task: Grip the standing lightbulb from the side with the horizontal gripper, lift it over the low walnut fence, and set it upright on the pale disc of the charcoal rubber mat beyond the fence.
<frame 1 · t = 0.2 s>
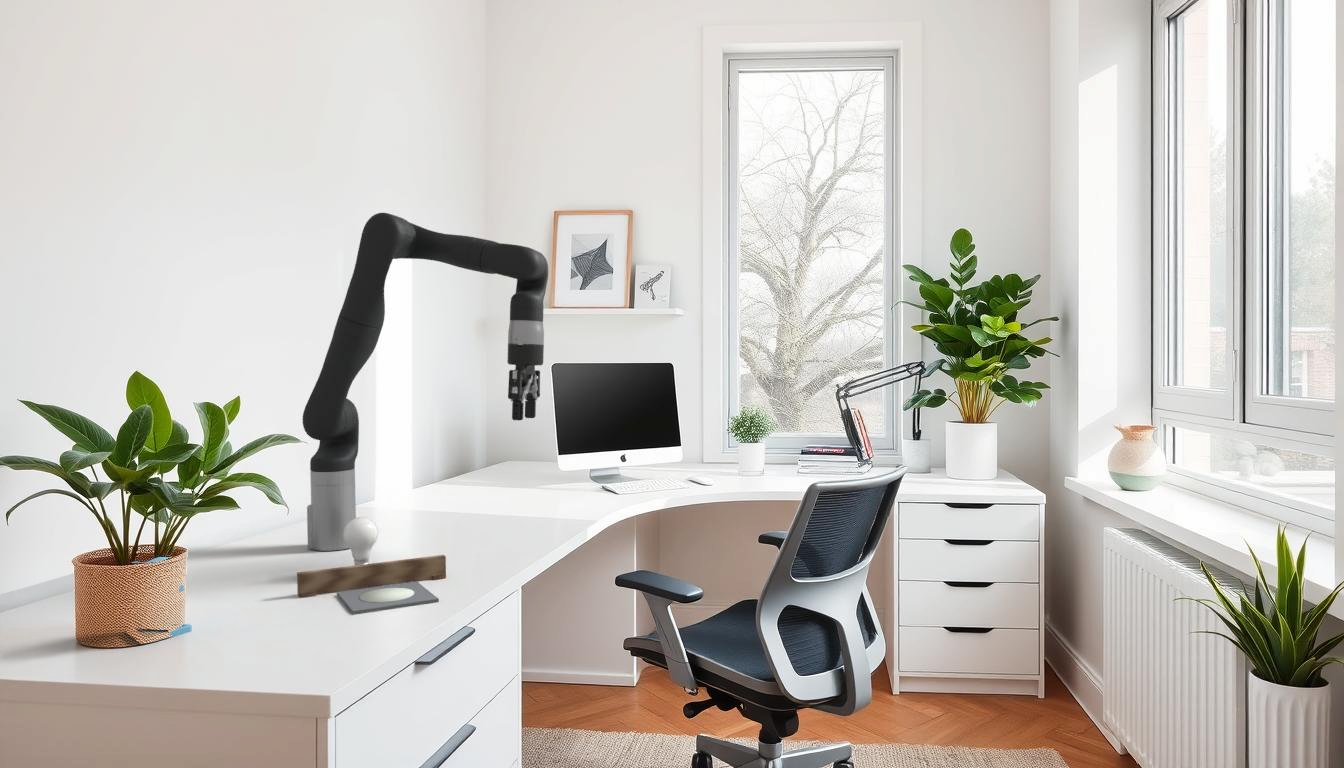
hand: (523, 419, 189), 29 cm above the table, tool pointing down, fingers open, 8 cm apart
lightbulb: (361, 574, 172), on the table
walnut fence: (374, 585, 163), on the table
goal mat: (387, 598, 154), on the table
chair: (151, 635, 135), on the table
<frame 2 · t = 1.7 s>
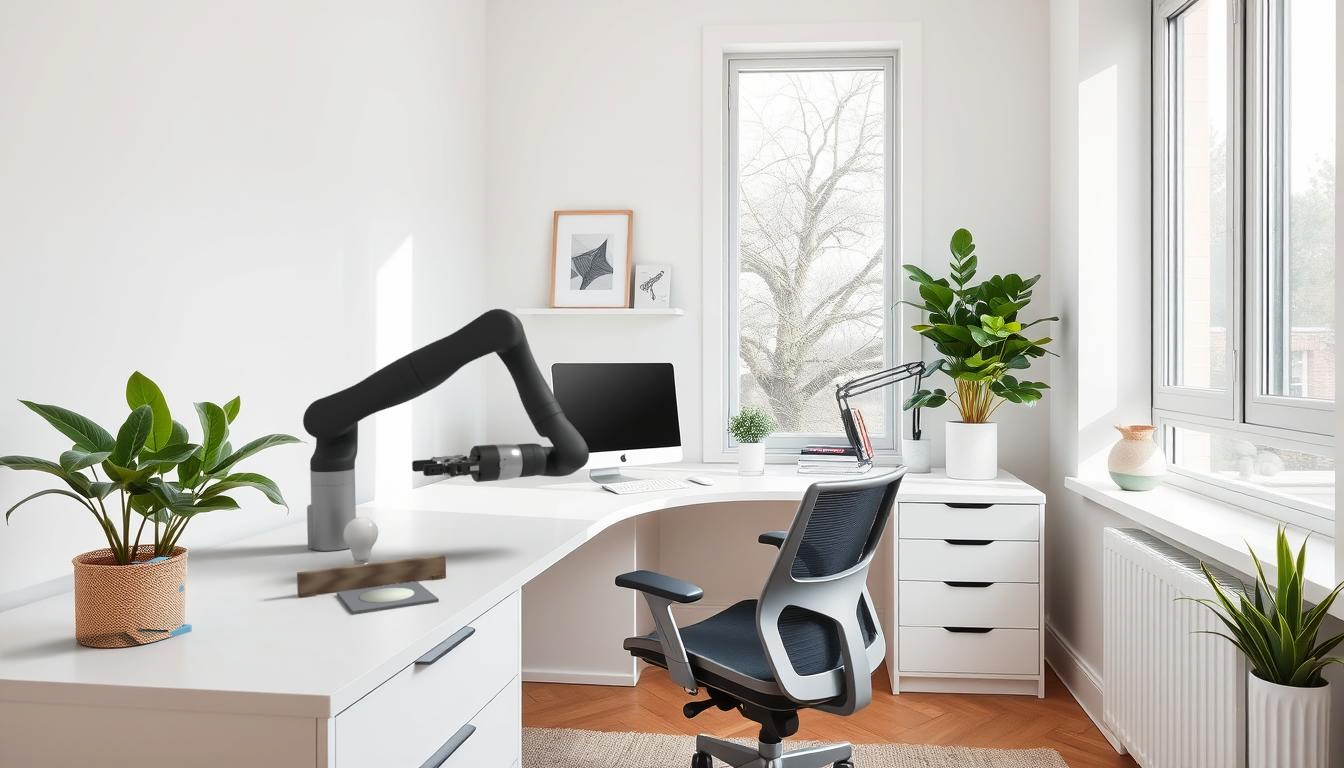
hand: (418, 468, 177), 20 cm above the table, tool horizontal, fingers open, 8 cm apart
nothing on the table moved.
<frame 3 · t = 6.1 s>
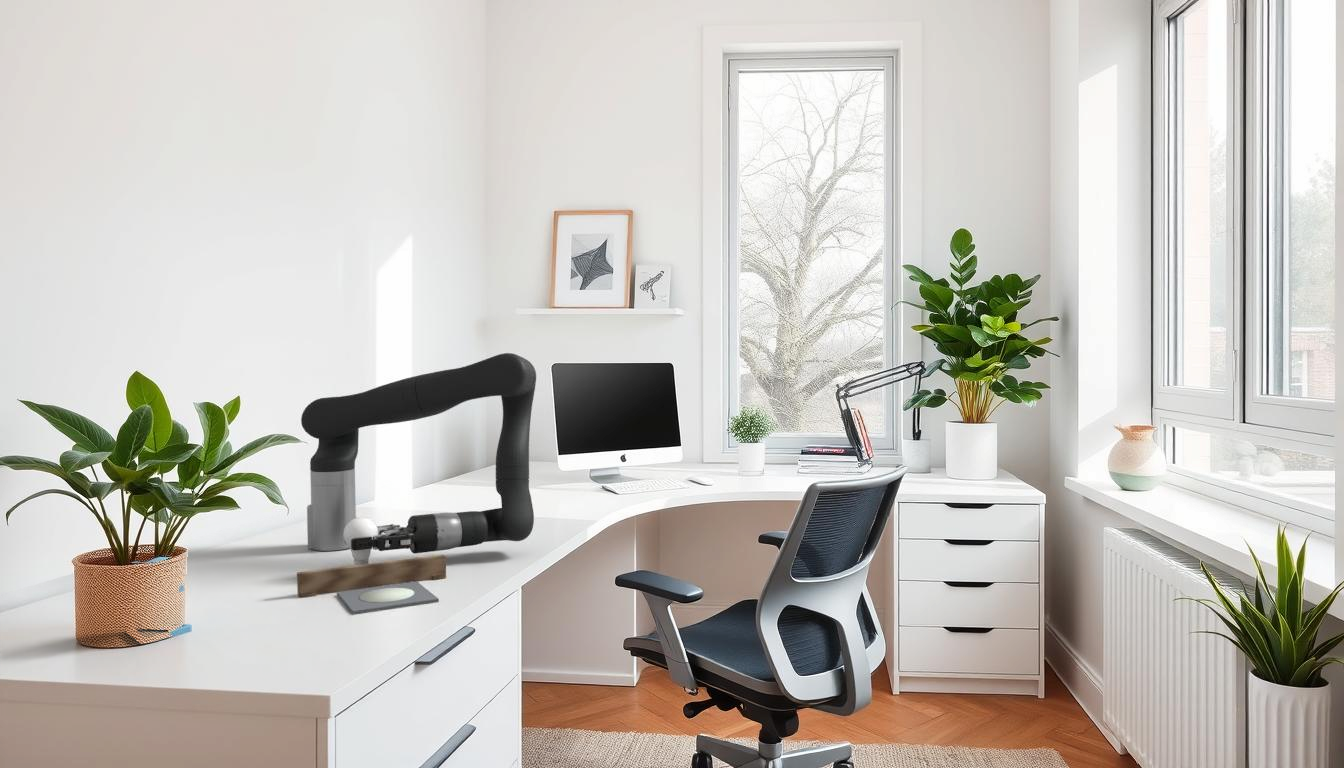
hand: (348, 541, 171), 7 cm above the table, tool horizontal, fingers closed on lightbulb, 6 cm apart
lightbulb: (361, 574, 172), on the table, touching gripper
everything else where it was.
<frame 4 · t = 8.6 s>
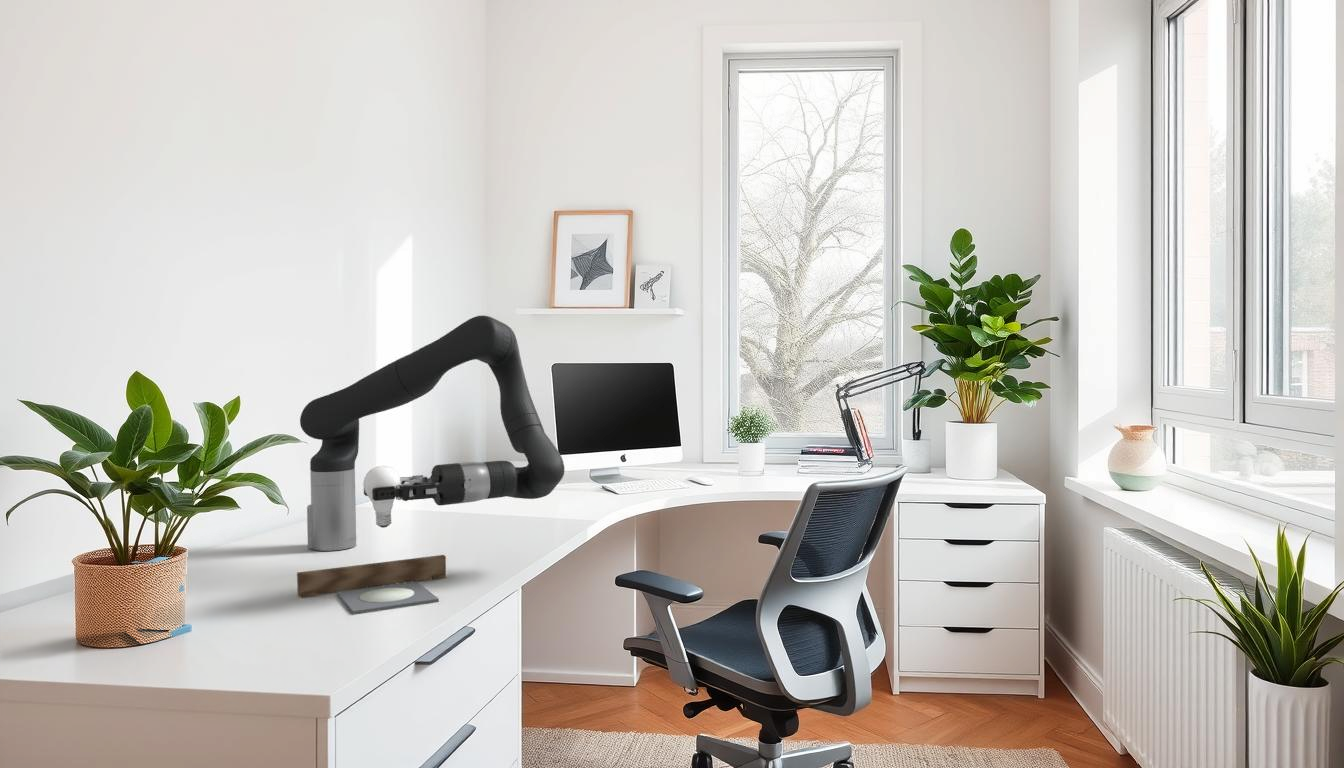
hand: (368, 492, 157), 18 cm above the table, tool horizontal, fingers closed on lightbulb, 6 cm apart
lightbulb: (383, 528, 159), point 11 cm above the table, touching gripper
everything else where it was.
when the fingers open (8 cm above the table, at t = 11.4 s): lightbulb stays where it is, resting on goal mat.
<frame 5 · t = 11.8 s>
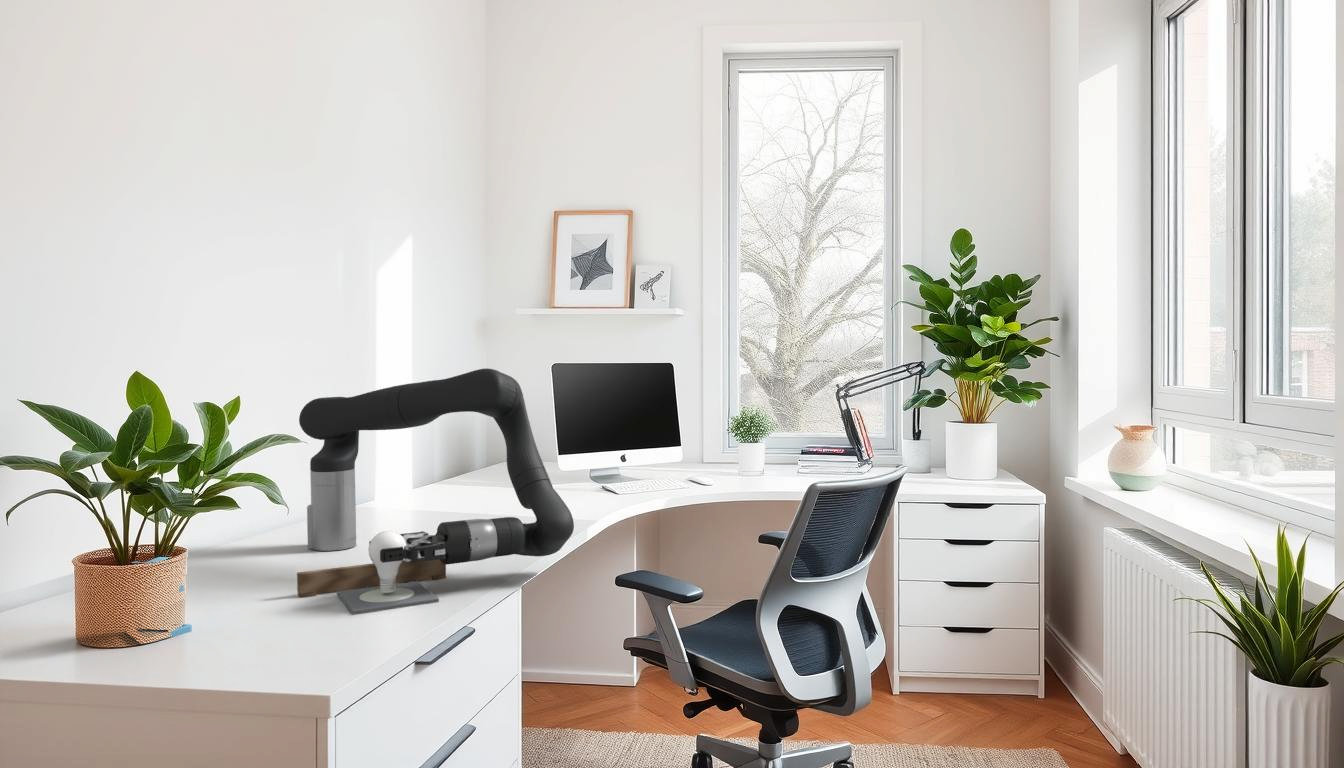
hand: (374, 551, 153), 8 cm above the table, tool horizontal, fingers open, 8 cm apart
lightbulb: (387, 595, 154), resting on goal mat
everything else where it was.
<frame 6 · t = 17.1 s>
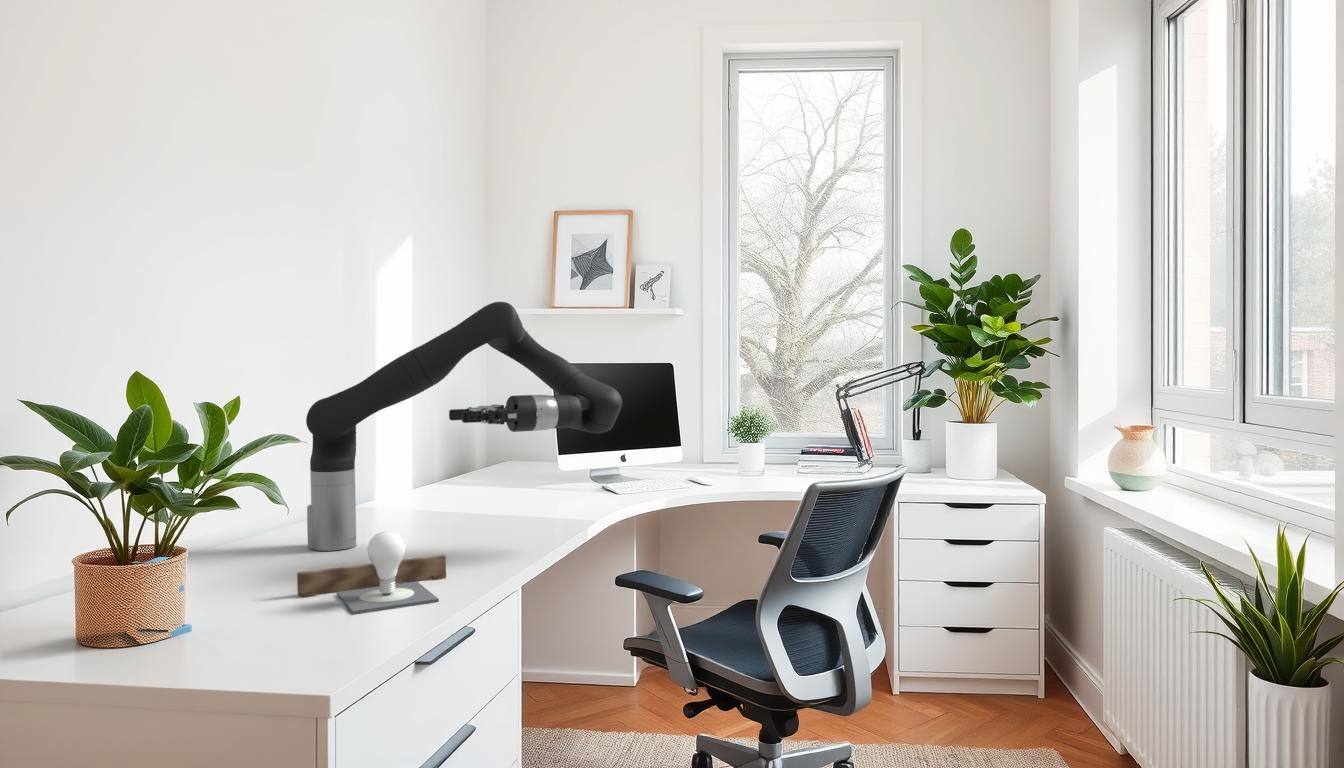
hand: (455, 416, 177), 30 cm above the table, tool horizontal, fingers open, 8 cm apart
nothing on the table moved.
at the end: lightbulb inside the target area on the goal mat (0.1 cm from its centre), point 0.5 cm above the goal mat's base; lightbulb tilted 0°; the gripper is holding nothing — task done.
